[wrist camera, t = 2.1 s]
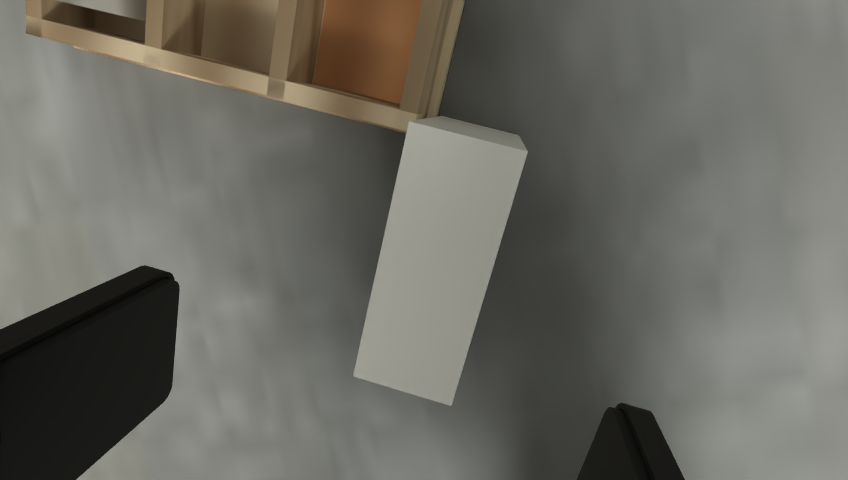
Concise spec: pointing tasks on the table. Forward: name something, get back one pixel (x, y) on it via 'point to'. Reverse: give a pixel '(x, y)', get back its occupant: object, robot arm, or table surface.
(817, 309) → the table surface
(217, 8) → the rack
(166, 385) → the robot arm
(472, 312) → the panel
